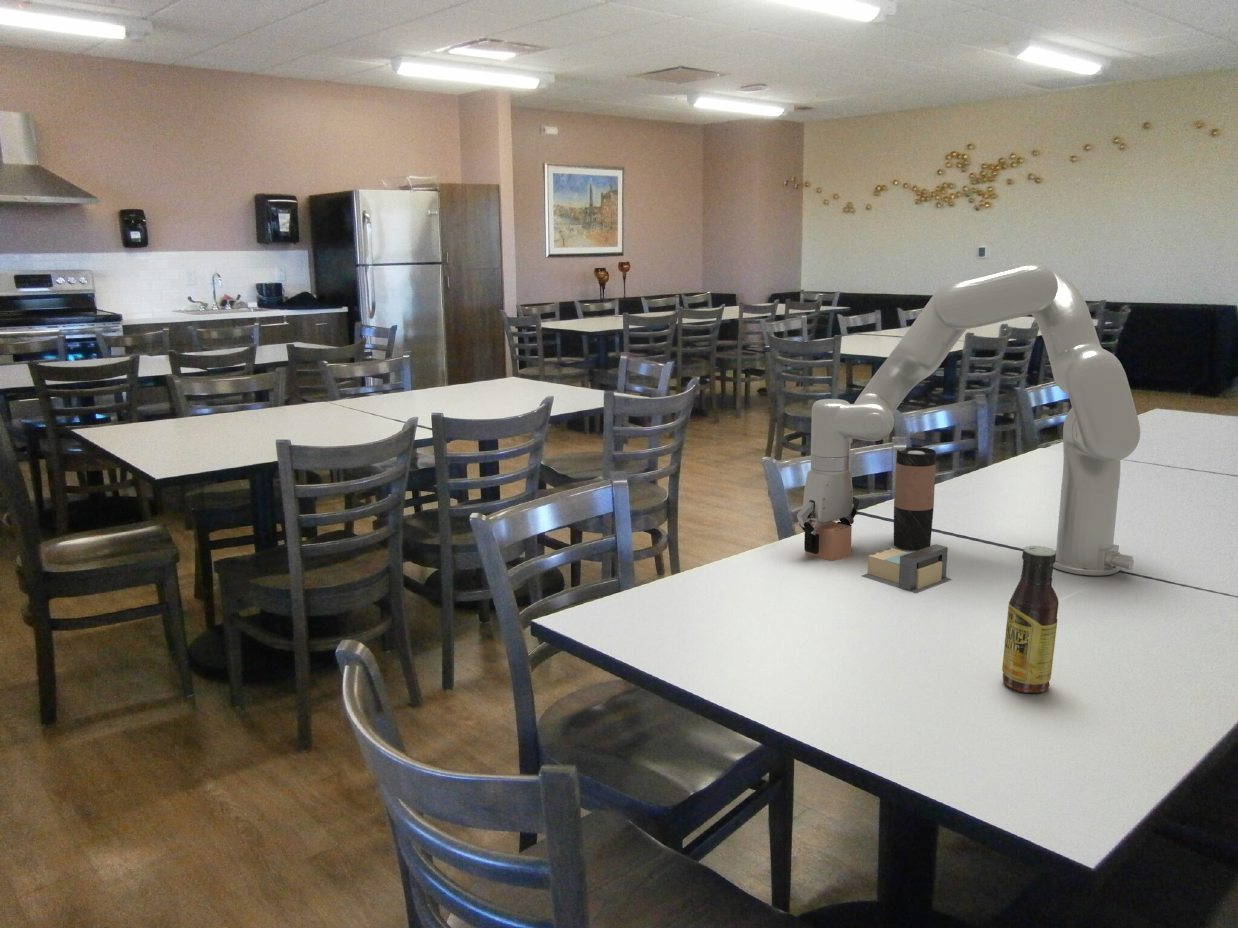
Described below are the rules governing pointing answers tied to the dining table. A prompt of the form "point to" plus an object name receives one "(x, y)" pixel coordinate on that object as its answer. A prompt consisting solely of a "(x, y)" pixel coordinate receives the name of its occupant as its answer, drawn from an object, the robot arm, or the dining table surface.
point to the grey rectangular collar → (920, 564)
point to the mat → (898, 583)
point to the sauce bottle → (1031, 624)
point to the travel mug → (914, 498)
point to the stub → (833, 541)
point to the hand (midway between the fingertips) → (827, 547)
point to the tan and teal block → (889, 564)
